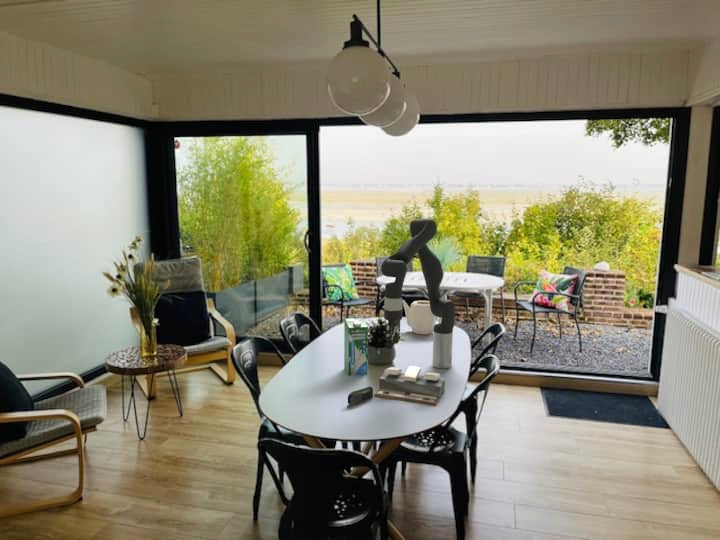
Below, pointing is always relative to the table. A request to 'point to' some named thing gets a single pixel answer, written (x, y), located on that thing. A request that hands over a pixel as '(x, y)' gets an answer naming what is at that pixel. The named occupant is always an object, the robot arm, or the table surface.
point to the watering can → (420, 317)
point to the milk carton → (355, 346)
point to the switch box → (411, 389)
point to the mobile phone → (360, 396)
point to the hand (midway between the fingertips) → (392, 345)
